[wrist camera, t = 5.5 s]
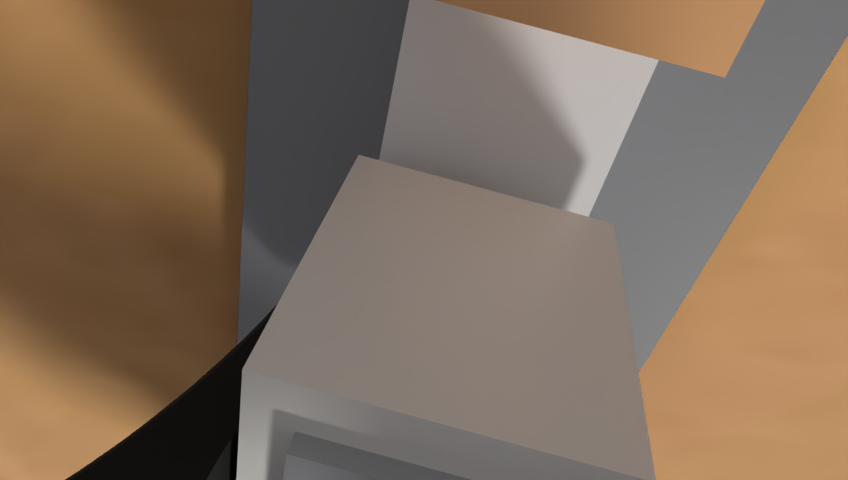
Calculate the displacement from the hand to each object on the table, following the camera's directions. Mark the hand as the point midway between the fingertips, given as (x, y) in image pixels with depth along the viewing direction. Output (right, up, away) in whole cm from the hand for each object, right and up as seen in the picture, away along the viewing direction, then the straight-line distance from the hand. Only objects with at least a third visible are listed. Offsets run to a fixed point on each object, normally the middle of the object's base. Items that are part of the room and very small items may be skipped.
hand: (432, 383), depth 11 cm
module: (0, +1, +1) cm, 2 cm away
